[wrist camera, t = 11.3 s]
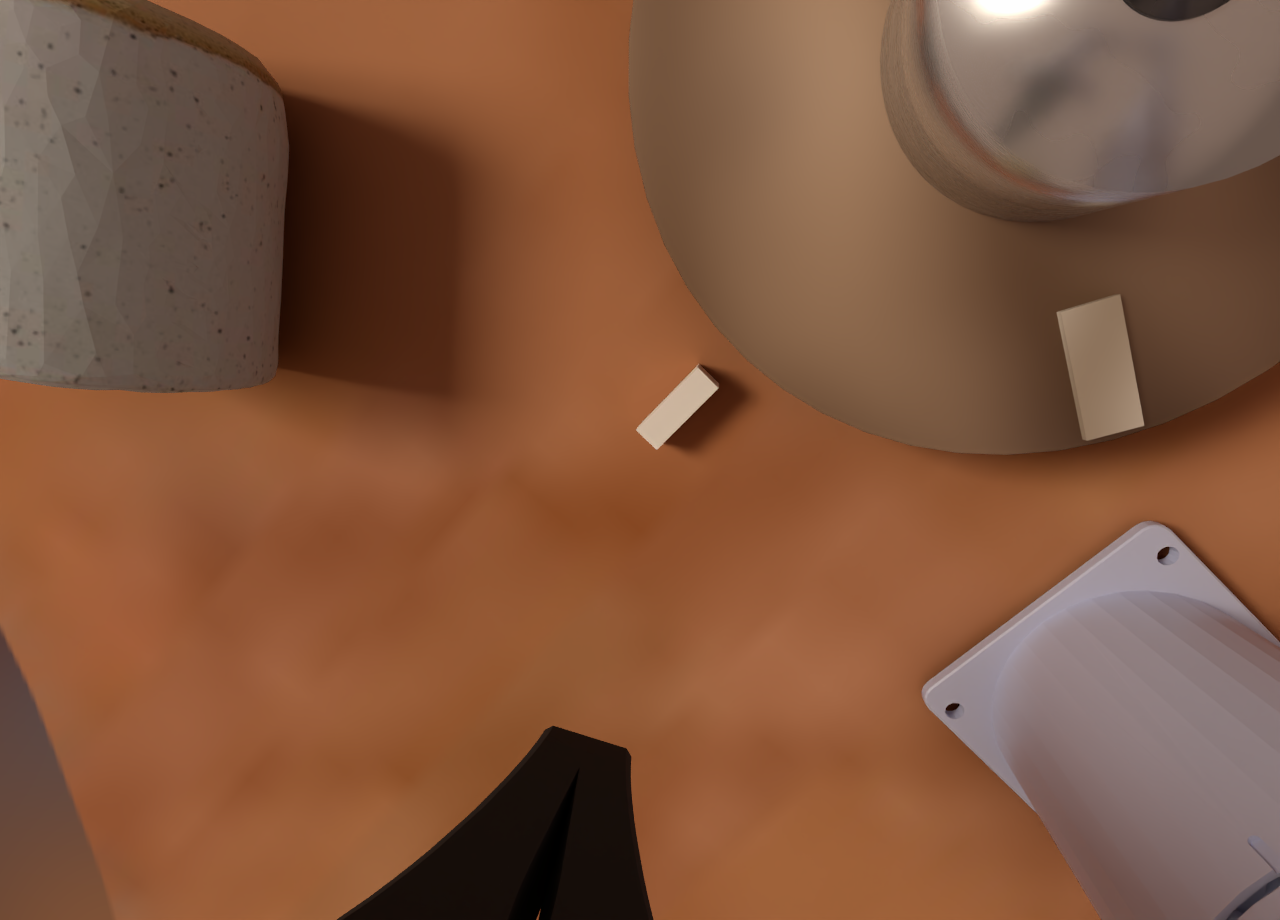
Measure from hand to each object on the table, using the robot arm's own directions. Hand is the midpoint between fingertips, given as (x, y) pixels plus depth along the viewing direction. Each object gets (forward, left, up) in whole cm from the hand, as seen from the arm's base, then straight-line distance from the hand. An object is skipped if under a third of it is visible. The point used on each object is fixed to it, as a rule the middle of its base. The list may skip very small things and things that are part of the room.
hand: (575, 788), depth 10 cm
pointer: (+3, -4, -10) cm, 11 cm away
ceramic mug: (+17, +3, -10) cm, 20 cm away
